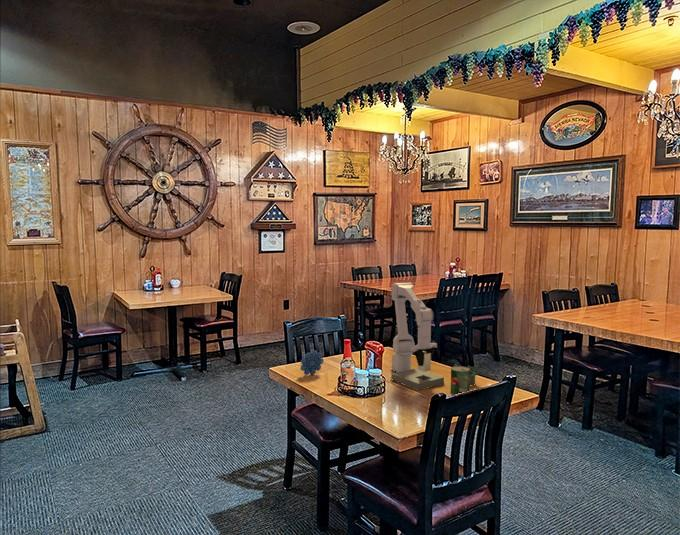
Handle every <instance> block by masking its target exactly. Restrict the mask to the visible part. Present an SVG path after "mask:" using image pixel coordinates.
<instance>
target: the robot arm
mask: <svg viewBox="0 0 680 535" xmlns="http://www.w3.org/2000/svg"><path fill="white" fill-rule="evenodd" d="M414 289H415V288H414V284H413V282H393V283H392V285H391V287H390V292H391V300H392V301H394V307H395V316H396V317H395V318H396V328H397V334H396V335H395V337H394V338H393V340H392V342H393V343H392V350H393V352H394V353H393V354H392V357H391V368H390V370H391V371H392V370H393V372H395V371H396V372H395V373H397V372H402V371H406V370H411V369H412V355H413V354H414V356H415V358H416V362H417V367H418V366H422V365H423V357H424V354H425V352H423V351H426V352H429V353H431V359H432V357H433V355H434V353H435V352H436V350H435V348H438V343H437V342H431V340H432V338H431V336H432V332H431V331H432V322H433V320H434V317H435V316H434V311H433V310H432V308H429V307H427V306H426V304H425V303H424V302H423V301H422V299H421V298H418V297H417V295H416V293H415V292H414V291H415V290H414ZM407 300H408V301H409V302H410V308H411V309H412V311H413V312H414V313H415V320H416V326H417V344H416V343H415V341H414V337H413V336H412V335H411V334H409V330H408V329H409V328H408V323H407V321H408V318H407V313H406V312H407V311H406V301H407ZM415 344H416V345H415Z"/></svg>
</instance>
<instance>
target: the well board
mask: <svg viewBox="0 0 680 535" xmlns="http://www.w3.org/2000/svg"><path fill="white" fill-rule="evenodd" d="M391 379H393V380H395V381H398V382H400V383H399V384H401V383H403V384H405V385H404V386H406V385H407V386H406V387H408V386H410V387H409V388H411V387H412V388H411V389H413V388H415V389H414V390H416V389H417V391H421V390H420V389H422V390H425V389H424V388H426V389H428V388H427V387H430V388H432V387H431V386H434V387H437V386H441V385H444V384H445V377H444V376H441V375H438V374H435V373H432V372H429V371H425V372H423V371H420V370H418V367H417V368H411V370H406V371H402V372H394V373H391ZM391 379H390V380H391ZM393 380H392V381H393ZM395 381H394V382H395ZM398 382H397V383H398ZM403 384H402V385H403ZM436 385H437V386H436Z"/></svg>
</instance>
